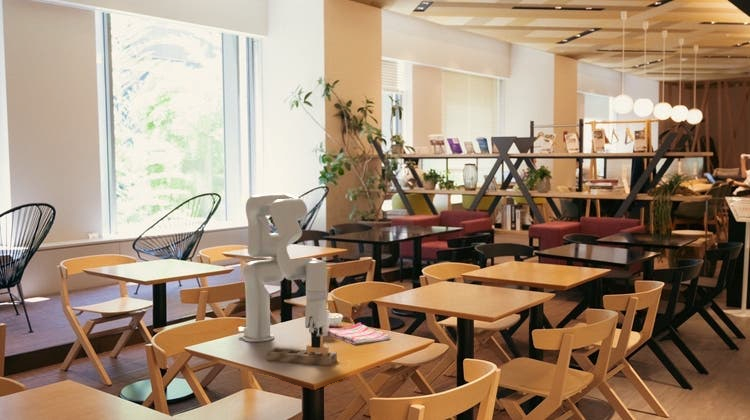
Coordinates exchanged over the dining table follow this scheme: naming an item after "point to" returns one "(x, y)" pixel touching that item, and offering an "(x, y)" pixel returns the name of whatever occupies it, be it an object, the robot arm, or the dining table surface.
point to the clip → (320, 350)
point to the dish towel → (358, 334)
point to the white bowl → (334, 319)
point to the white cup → (326, 326)
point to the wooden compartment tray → (301, 357)
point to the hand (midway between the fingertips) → (317, 345)
